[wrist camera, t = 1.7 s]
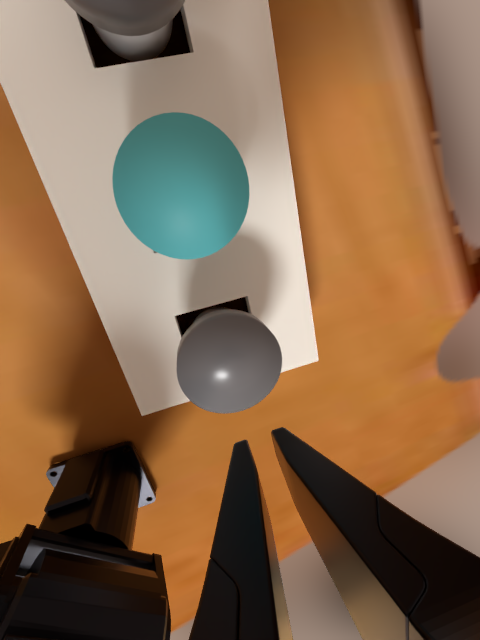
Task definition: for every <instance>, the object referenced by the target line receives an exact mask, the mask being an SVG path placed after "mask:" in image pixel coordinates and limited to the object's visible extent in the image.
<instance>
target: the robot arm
mask: <svg viewBox="0 0 480 640" xmlns="http://www.w3.org/2000/svg"><path fill="white" fill-rule="evenodd" d="M271 435H272V440H273V444H274V448H275V452H276V456H277V459H278V461H279V464H280V467H281V469H282V472H283V475H284V477H285V480H286V483H287V485H288V488H289V491H290V493H291V496H292V499H293V501H294V503H295V506H296V508H297V510H298V512H299V514H300V517H301V519H302V520H303V522H304V524H305V526H306V528H307V530H308V532H309V534H310V536H311V538H312V540H313V542H314V544H315V546H316V548H317V550H318V552H319V554H320V556H321V558H322V560H323V562H324V564H325V566H326V568H327V570H328V572H329V574H330V576H331V578H332V580H333V582H334V584H335V586H336V588H337V590H338V591H339V594H340V596H341V598H342V600H343V602H344V604H345V606H346V607H347V610H348V611H349V614H350V615H351V617H352V619H353V621H354V623H355V625H356V627H357V629H358V631H359V633H360V635H361V637H362V639H363V640H480V557H478V556H476V555H475V554H473V553H471V552H469V551H468V550H466V549H464V548H463V547H461V546H459V545H457V544H456V543H454V542H452V541H450V540H449V539H447V538H445V537H443V536H442V535H440V534H438V533H437V532H435V531H434V530H432V529H430V528H428V527H427V526H425V525H424V524H422V523H420V522H419V521H417V520H415V519H414V518H412V517H411V516H409V515H408V514H406V513H405V512H403V511H402V510H400V509H399V508H397V507H396V506H394V505H393V504H391V503H390V502H389V501H387V500H386V499H384V498H383V497H382V496H380V495H377V494H376V492H374V491H373V490H372V489H370V488H369V487H367V486H366V485H365V484H363V483H362V482H360V481H359V480H357V479H356V478H355V477H353V476H352V475H350V474H349V473H348V472H346V471H345V470H343V469H342V468H340V467H339V466H338V465H336V464H335V463H333V462H332V461H331V460H329V459H328V458H326V457H325V456H323V455H322V454H321V453H319V452H318V451H316V450H315V449H314V448H312V447H311V446H309V445H308V444H307V443H305V442H304V441H302V440H301V439H299V438H298V437H297V436H295V435H294V434H292V433H291V432H290V431H288V430H287V429H285V428H283V427H281V428H278V429H275V430H273V431H272V432H271ZM125 448H129V449H125ZM53 471H55V472H56V473H55V472H53ZM46 475H47V477H48V479H49V481H50V482H51V484H52V485H53V487H54V490H53V492H52V494H51V496H50V498H49V501H48V503H47V505H46V507H45V509H44V511H45V512H46V514H45V516H44V518H43V520H42V522H41V524H40V526H39V529H38V528H36V526H34V525H30V524H26V526H25V527H24V529H23V531H22V532H21V534H20V535H19V537H15V538H14V539H13V540H11V541H8V542H5V543H1V544H0V640H170V632H171V616H170V608H169V602H168V595H167V589H166V583H165V577H164V571H163V564H162V558H161V555H158V554H154V553H153V554H152V555H151V554H146V553H142V552H138V551H133V550H132V546H133V540H134V533H135V526H136V519H137V512H138V508H139V507H142V506H145V505H148V504H150V503H153V502H154V501H155V498H156V493H155V491H154V489H153V486H152V484H151V482H150V480H149V478H148V475H147V473H146V471H145V469H144V467H143V464H142V462H141V460H140V458H139V456H138V454H137V451H136V449H135V447H134V445H133V443H131V442H128V441H127V442H123V443H120V444H117V445H114V446H111V447H108V448H104V449H101V450H97V451H94V452H91V453H88V454H85V455H82V456H79V457H75V458H72V459H69V460H67V461H64V462H61V463H58V464H55V465H52V466H50V467H49V469H48V471H47V473H46ZM210 558H211V559H210V560H209V563H208V568H207V572H206V577H205V581H204V585H203V590H202V594H201V598H200V602H199V606H198V609H197V613H196V616H195V620H194V623H193V627H192V630H191V633H190V637H189V640H293V636H292V631H291V625H290V620H289V615H288V610H287V604H286V599H285V594H284V589H283V583H282V578H281V573H280V568H279V562H278V557H277V552H276V546H275V541H274V536H273V531H272V525H271V521H270V516H269V513H268V509H267V505H266V501H265V498H264V494H263V490H262V487H261V483H260V479H259V475H258V472H257V468H256V465H255V462H254V459H253V456H252V453H251V450H250V447H249V444H248V441H247V440H243V441H240V442H237V443H235V444H234V447H233V451H232V456H231V461H230V465H229V470H228V475H227V479H226V484H225V489H224V494H223V498H222V503H221V508H220V512H219V517H218V522H217V526H216V531H215V536H214V540H213V545H212V550H211V554H210Z"/></svg>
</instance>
